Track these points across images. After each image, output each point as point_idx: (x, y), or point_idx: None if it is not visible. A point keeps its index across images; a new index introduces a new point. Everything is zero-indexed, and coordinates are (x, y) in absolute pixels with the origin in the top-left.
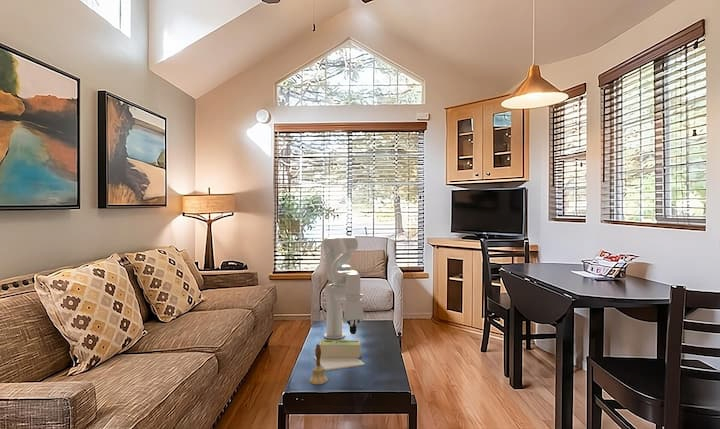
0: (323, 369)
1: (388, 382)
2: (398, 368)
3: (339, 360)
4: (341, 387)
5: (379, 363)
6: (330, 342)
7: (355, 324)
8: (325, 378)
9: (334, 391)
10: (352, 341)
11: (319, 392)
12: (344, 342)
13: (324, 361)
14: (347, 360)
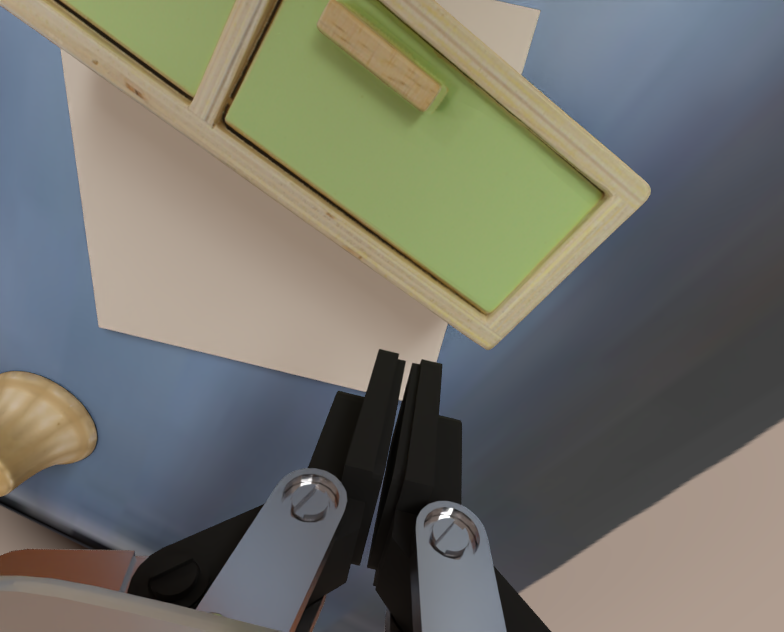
0: (16, 484)
1: (382, 612)
2: (577, 551)
3: (273, 229)
4: (145, 533)
5: (548, 433)
6: None
7: (400, 621)
8: (67, 459)
9: (102, 541)
10: (530, 132)
11: (32, 513)
12: (387, 101)
13: (132, 166)
14: (340, 272)
